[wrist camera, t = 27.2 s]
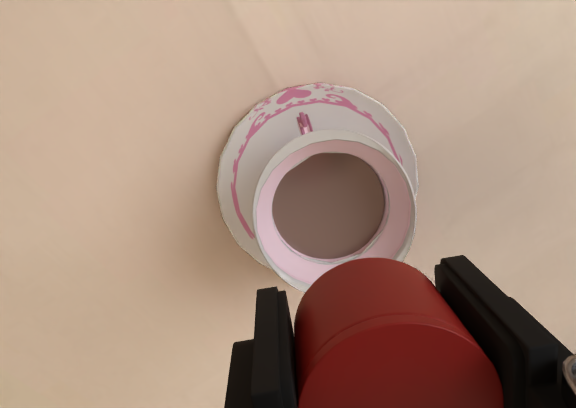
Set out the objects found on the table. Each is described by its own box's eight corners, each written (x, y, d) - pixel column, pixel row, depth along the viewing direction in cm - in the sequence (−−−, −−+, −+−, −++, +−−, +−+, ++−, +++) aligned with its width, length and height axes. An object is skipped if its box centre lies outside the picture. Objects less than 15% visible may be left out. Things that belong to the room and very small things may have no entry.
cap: (449, 250, 11) (514, 315, 8) (445, 385, 12) (501, 490, 9) (288, 261, 11) (290, 329, 8) (298, 395, 12) (303, 501, 9)
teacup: (434, 243, 27) (479, 291, 21) (256, 298, 28) (251, 358, 22) (389, 53, 24) (428, 46, 18) (186, 121, 24) (159, 137, 18)
